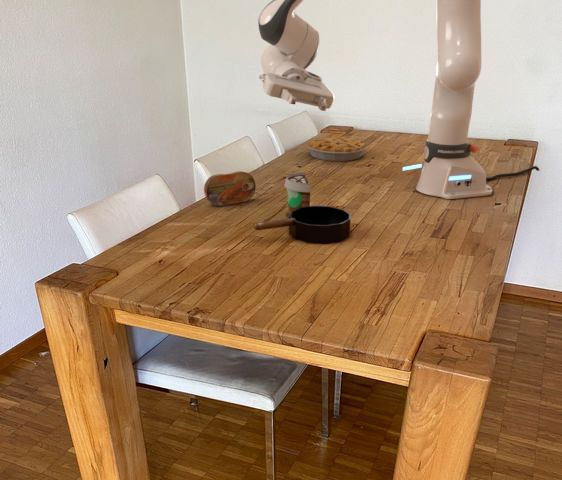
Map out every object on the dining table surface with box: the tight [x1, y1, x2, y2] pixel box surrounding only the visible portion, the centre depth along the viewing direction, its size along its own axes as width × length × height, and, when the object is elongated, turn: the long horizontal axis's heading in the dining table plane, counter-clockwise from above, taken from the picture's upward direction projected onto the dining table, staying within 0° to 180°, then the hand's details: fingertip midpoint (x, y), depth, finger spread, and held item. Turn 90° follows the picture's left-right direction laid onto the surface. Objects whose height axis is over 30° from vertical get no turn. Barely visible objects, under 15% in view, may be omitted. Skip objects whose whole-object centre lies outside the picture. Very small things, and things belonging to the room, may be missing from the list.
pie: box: [306, 136, 368, 162], centre depth 213 cm, size 22×22×5 cm
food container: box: [284, 171, 312, 217], centre depth 155 cm, size 12×6×10 cm, turn 5°
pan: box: [253, 205, 352, 245], centre depth 144 cm, size 25×15×5 cm, turn 112°
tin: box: [203, 170, 257, 207], centre depth 164 cm, size 15×3×8 cm, turn 117°
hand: (309, 104), depth 154 cm, fingers open, 8 cm apart
